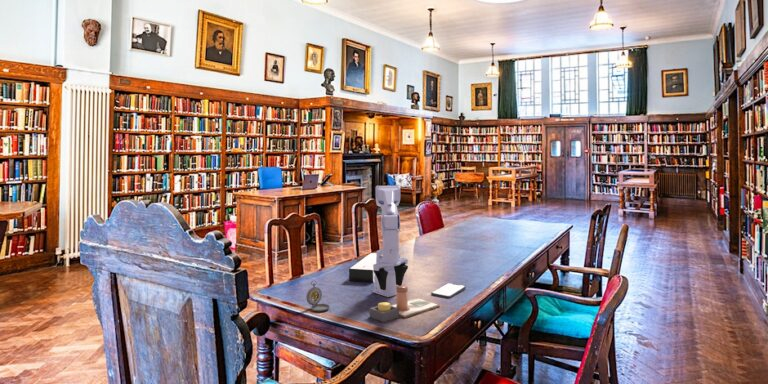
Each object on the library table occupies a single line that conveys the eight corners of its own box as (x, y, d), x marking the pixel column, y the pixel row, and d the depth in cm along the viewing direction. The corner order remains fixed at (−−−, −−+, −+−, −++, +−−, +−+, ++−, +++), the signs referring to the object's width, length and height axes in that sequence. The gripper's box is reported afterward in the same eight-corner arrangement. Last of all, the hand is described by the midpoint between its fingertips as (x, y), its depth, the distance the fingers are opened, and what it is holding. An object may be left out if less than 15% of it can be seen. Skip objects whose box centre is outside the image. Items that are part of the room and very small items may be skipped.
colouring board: (381, 309, 162) (381, 307, 162) (416, 299, 174) (416, 297, 174) (404, 318, 153) (404, 316, 153) (439, 306, 165) (439, 304, 165)
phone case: (449, 300, 175) (466, 289, 188) (449, 296, 175) (466, 285, 188) (429, 296, 180) (447, 286, 193) (429, 292, 180) (447, 282, 193)
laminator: (373, 283, 198) (372, 270, 197) (346, 282, 201) (346, 268, 200) (391, 265, 230) (391, 253, 230) (368, 264, 233) (368, 252, 233)
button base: (369, 316, 156) (369, 308, 155) (385, 311, 160) (385, 303, 160) (383, 322, 150) (383, 313, 150) (399, 317, 155) (399, 308, 155)
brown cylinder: (394, 308, 161) (394, 286, 160) (401, 306, 164) (401, 284, 163) (402, 311, 158) (402, 289, 157) (409, 308, 161) (409, 286, 160)
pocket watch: (326, 312, 160) (325, 285, 159) (303, 311, 161) (303, 284, 161) (332, 305, 168) (332, 279, 167) (311, 304, 169) (310, 278, 169)
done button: (375, 312, 155) (375, 304, 155) (384, 309, 158) (384, 301, 158) (383, 315, 152) (383, 307, 152) (393, 312, 155) (393, 304, 155)
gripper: (382, 253, 148) (383, 294, 149) (413, 247, 157) (413, 285, 158) (369, 250, 153) (369, 289, 154) (399, 245, 163) (399, 281, 164)
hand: (391, 287), depth 157 cm, fingers open, 7 cm apart
